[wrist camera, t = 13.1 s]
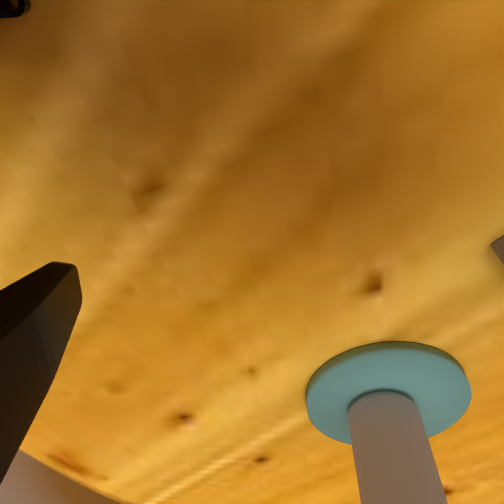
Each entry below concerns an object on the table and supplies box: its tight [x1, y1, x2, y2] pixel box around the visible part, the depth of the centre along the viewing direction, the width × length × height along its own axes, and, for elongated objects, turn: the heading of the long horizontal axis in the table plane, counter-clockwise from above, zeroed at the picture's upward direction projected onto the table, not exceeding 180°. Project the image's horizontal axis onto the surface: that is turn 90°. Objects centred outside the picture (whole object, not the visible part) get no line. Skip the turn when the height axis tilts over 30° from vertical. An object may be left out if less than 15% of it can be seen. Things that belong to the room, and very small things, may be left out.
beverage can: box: [348, 391, 448, 504], centre depth 25 cm, size 5×5×12 cm
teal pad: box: [306, 342, 471, 445], centre depth 30 cm, size 11×11×1 cm
